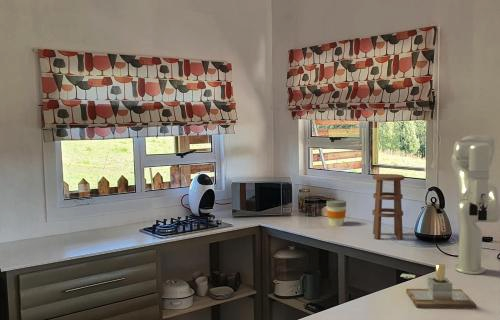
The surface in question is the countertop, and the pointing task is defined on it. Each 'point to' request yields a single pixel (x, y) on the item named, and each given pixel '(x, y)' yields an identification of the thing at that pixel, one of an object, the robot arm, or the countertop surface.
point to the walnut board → (441, 301)
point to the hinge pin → (440, 273)
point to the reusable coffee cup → (336, 212)
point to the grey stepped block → (439, 292)
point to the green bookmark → (407, 276)
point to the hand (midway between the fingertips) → (477, 217)
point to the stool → (397, 208)
